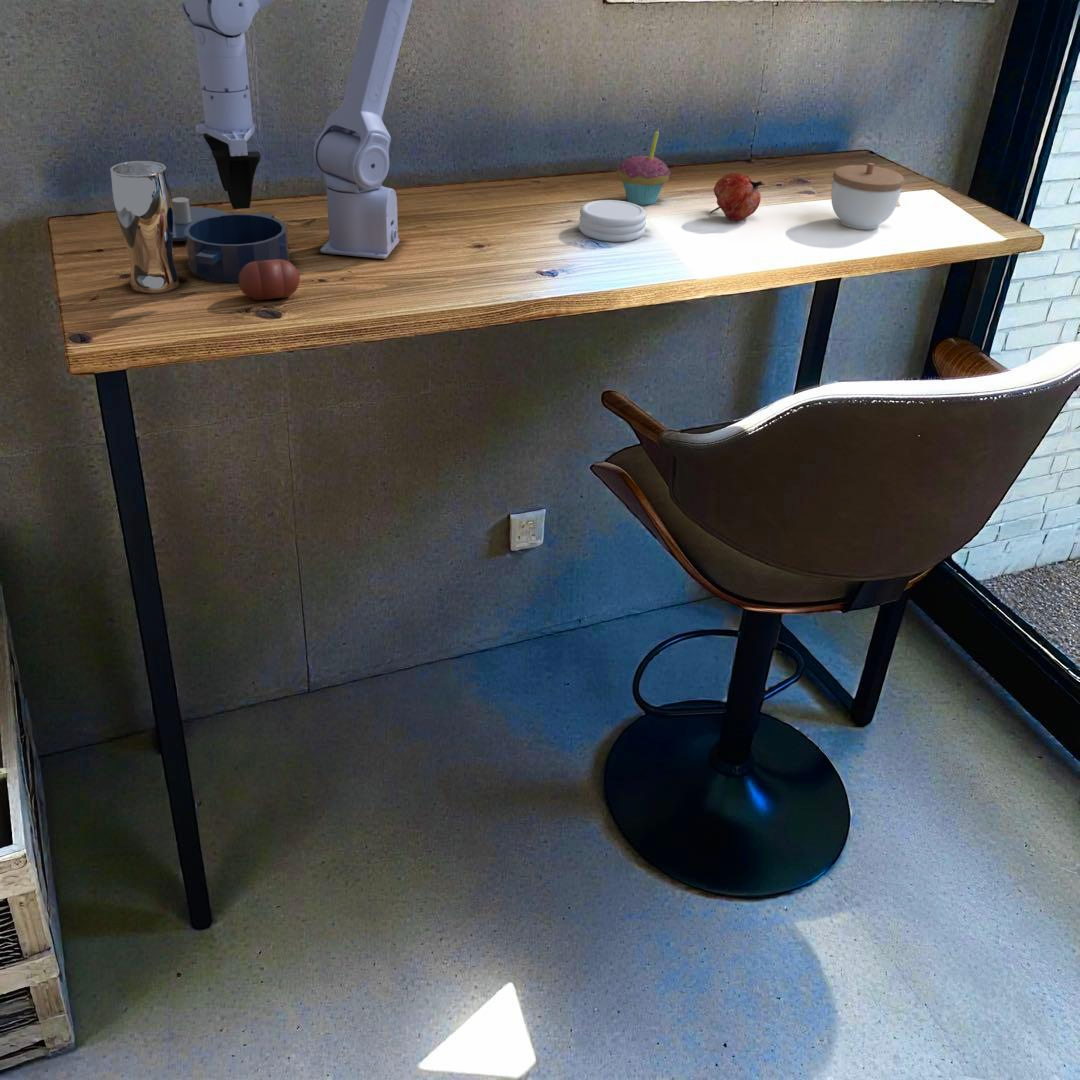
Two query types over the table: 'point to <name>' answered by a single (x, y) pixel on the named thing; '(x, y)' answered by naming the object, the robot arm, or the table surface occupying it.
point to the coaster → (612, 220)
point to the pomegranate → (737, 196)
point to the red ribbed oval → (268, 279)
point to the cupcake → (643, 176)
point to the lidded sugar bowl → (865, 195)
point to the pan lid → (188, 216)
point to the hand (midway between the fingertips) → (236, 198)
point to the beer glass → (146, 223)
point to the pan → (233, 244)
